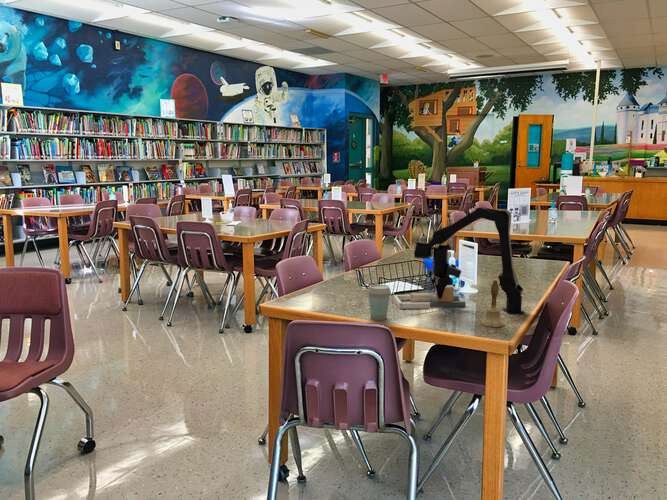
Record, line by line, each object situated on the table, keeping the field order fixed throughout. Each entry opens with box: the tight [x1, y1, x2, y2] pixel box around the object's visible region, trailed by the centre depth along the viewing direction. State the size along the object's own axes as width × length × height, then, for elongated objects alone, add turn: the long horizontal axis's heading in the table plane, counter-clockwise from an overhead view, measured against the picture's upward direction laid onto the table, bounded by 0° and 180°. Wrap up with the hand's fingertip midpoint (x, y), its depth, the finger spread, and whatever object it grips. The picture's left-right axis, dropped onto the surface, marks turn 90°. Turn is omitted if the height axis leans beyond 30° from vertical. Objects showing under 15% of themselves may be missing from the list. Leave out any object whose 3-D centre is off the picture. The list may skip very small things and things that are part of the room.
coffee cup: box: [367, 283, 391, 321], centre depth 216 cm, size 9×9×12 cm
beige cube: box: [420, 292, 433, 303], centre depth 238 cm, size 4×4×4 cm
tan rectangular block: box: [430, 285, 455, 302], centre depth 239 cm, size 6×9×7 cm
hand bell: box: [480, 279, 505, 328], centre depth 209 cm, size 8×8×16 cm
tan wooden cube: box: [410, 292, 423, 303], centre depth 238 cm, size 4×4×4 cm
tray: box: [392, 294, 431, 309], centre depth 238 cm, size 14×12×2 cm
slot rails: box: [429, 295, 467, 308], centre depth 239 cm, size 11×15×2 cm
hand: (439, 297), depth 239 cm, fingers open, 3 cm apart
